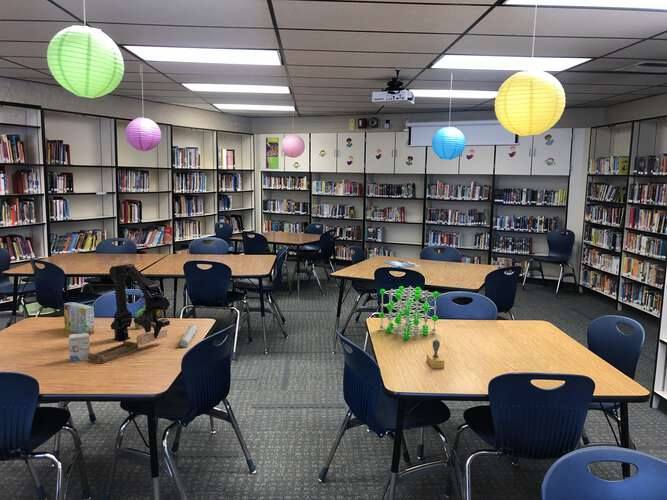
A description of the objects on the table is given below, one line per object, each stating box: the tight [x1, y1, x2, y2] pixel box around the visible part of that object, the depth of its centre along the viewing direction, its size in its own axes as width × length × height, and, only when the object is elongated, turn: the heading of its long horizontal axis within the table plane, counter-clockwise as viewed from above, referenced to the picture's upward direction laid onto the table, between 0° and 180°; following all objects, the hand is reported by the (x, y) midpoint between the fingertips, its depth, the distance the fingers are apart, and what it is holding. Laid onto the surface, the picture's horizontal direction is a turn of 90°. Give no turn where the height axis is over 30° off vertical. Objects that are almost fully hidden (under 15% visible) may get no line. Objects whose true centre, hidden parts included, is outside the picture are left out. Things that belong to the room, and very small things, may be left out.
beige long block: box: [136, 327, 168, 346], centre depth 261 cm, size 4×16×4 cm, turn 151°
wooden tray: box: [88, 340, 139, 365], centre depth 249 cm, size 9×22×3 cm, turn 156°
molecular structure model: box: [378, 285, 440, 341], centre depth 293 cm, size 24×25×24 cm
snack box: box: [63, 301, 95, 335], centre depth 286 cm, size 21×6×15 cm, turn 58°
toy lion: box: [134, 304, 164, 330], centre depth 297 cm, size 16×5×15 cm, turn 133°
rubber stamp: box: [426, 339, 445, 369], centre depth 241 cm, size 10×6×12 cm, turn 5°
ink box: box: [68, 333, 91, 363], centre depth 242 cm, size 9×5×12 cm, turn 117°
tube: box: [178, 324, 198, 348], centre depth 273 cm, size 5×5×25 cm
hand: (152, 337), depth 261 cm, fingers closed on beige long block, 4 cm apart
